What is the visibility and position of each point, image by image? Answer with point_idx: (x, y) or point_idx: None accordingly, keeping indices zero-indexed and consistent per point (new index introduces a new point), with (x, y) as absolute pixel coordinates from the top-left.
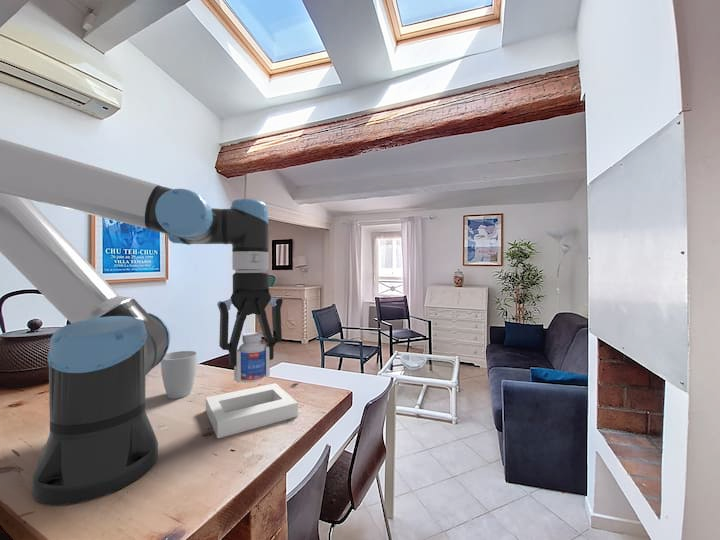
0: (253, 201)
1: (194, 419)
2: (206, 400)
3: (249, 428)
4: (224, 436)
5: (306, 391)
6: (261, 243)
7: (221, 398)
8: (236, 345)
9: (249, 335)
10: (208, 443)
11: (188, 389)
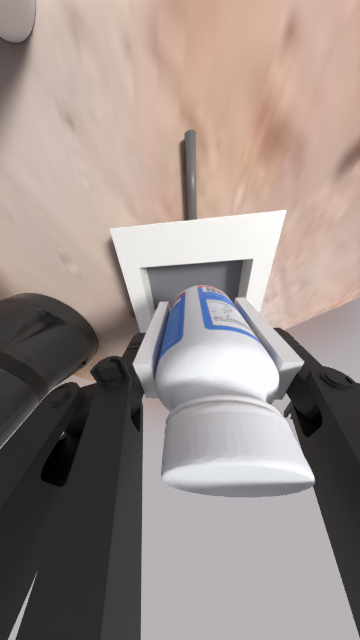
0: None
1: (110, 260)
2: (114, 242)
3: None
4: None
5: (335, 231)
6: None
7: (144, 255)
8: (136, 425)
9: (201, 490)
10: (139, 332)
11: (16, 1)
